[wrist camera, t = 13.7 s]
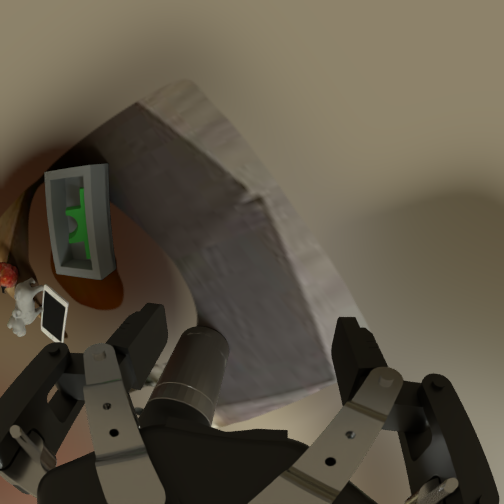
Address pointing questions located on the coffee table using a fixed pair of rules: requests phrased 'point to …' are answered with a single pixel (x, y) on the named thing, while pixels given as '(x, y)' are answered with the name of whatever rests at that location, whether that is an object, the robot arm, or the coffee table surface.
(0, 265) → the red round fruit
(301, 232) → the coffee table surface
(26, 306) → the dog figurine
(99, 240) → the bin
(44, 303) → the cell phone
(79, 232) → the pipe clamp
